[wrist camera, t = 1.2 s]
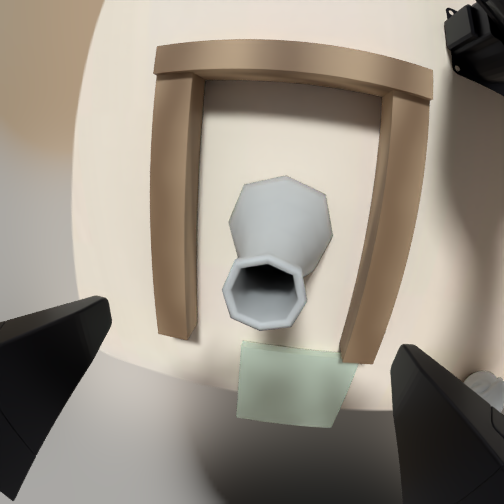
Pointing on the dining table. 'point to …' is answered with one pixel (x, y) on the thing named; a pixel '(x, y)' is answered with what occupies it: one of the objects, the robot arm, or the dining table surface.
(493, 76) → the robot arm
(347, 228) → the dining table surface
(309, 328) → the dining table surface
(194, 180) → the frame
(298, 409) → the pad
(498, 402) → the frog figurine
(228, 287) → the flask
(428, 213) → the dining table surface
